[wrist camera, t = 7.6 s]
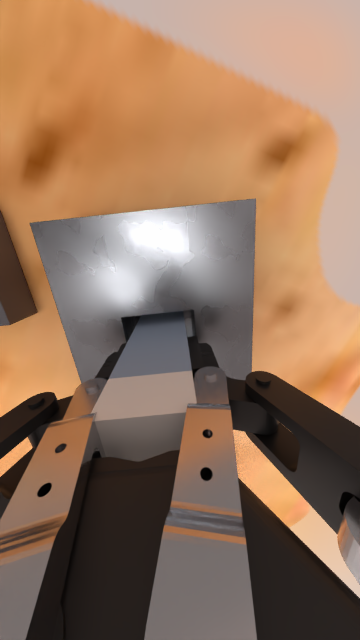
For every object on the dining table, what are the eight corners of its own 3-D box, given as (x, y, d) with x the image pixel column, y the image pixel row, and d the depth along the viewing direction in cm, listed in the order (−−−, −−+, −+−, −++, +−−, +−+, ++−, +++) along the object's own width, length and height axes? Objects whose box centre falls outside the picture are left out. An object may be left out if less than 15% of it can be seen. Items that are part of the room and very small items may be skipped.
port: (74, 231, 15) (22, 221, 10) (230, 215, 15) (259, 195, 10) (117, 398, 20) (98, 449, 15) (232, 386, 20) (252, 433, 15)
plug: (141, 314, 15) (86, 421, 6) (183, 310, 15) (197, 411, 6) (147, 351, 16) (110, 493, 7) (186, 347, 16) (204, 484, 7)
